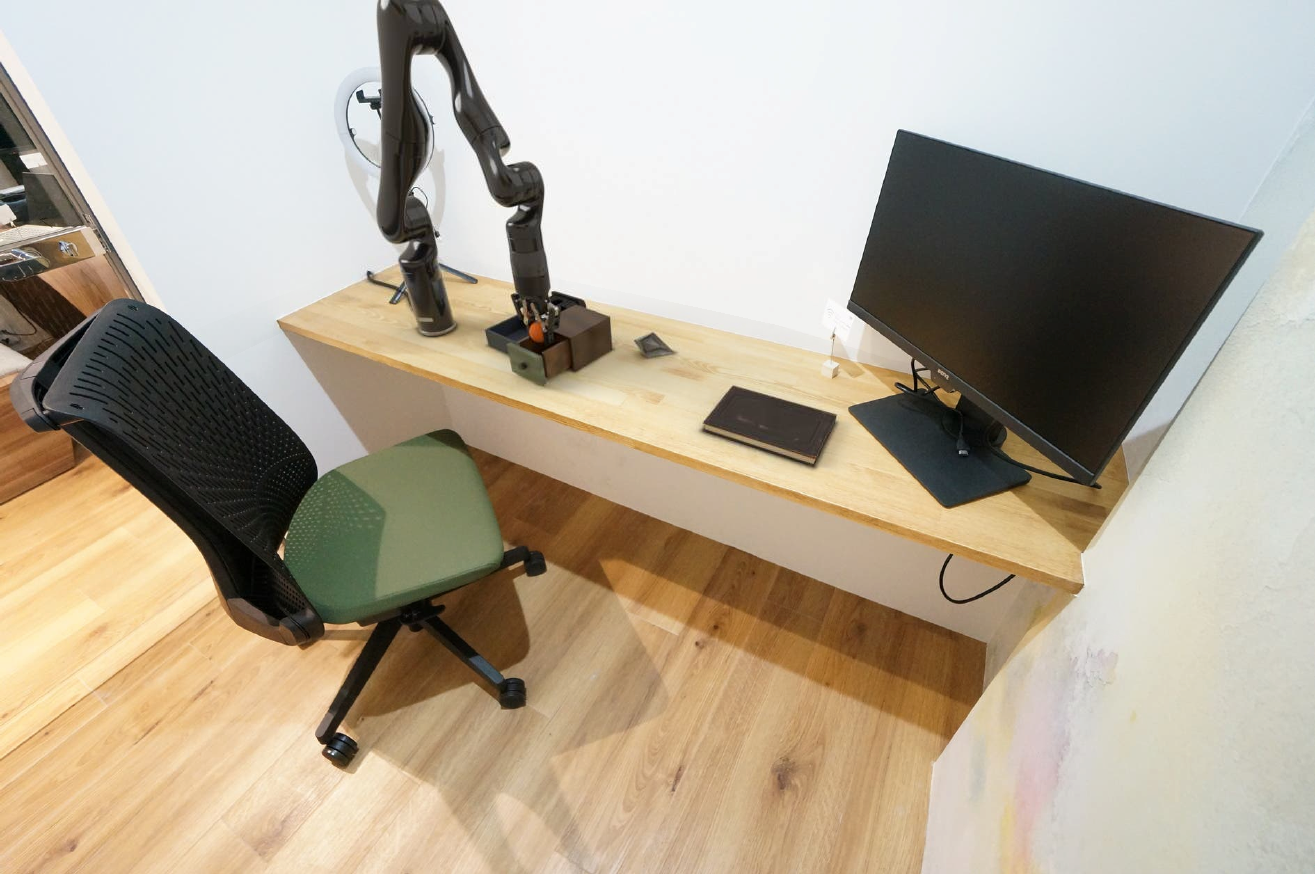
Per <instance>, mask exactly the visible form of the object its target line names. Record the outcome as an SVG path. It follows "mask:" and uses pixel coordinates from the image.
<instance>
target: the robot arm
mask: <svg viewBox="0 0 1315 874" xmlns="http://www.w3.org/2000/svg"><path fill="white" fill-rule="evenodd" d="M376 31H377V42H378V43H377V44H378V55H379V64H380V65H379V66H380V67H379V68H380V86H381V87H380V89H381V91H380V92H381V93H380V94H381V107H380V108H381V111H380V172H379V173H380V174H379V184H378V192H377V199H376V207H375V217H376V224H377V227H378V230H379V232H380V234H381V236H382V237H383V238H384V240H385V241H387V242H388V243H390V244H393V245H402V244H406V243H408V244H407V246H406V248H405V249H404V250H403V251H402V252H401V254H399V256H398V258H397V264H398V267H399V269H400V273H401V276H402V279H403V282H404V285H405V288H406V290H404V292H403V293H402V294H404V296H406V298H407V302H408V304H409V306H410V307H411V308H412V311H413V315H414V319H415V321H416V325H417V327H418V330H419V333H420V334H421V335H423V336H426V337H438V336H443V335H446V334H449V333H451V332H453V331H454V330H455V329H456V327H457V323H456V321H455V317H454V314H453V309H452V307H451V303H450V300H449V295H448V292H447V289H446V288H447V287H446V285H445V281H444V278H443V274H442V271H441V267H440V263H439V249H438V245H437V240H436V235H435V229H434V226H433V222H432V218H431V215H430V213H429V210H428V208H427V206H426V205H425V203H424V202H423V201H422V200H421V199H420V198H418V197H416V196H414V195H409V194H410V192H411V190H412V188H413V187H414V185H415V183H416V182H417V180H418V179H419V177H420V175H421V173H422V172H423V170H424V168H425V167H426V164H427V161H428V160H429V154H430V145H431V144H430V143H431V124H430V120H429V118H428V115H427V112H426V111H425V109H424V107H423V105H422V103H421V101H420V100H419V98H418V96H417V94H416V91H415V89H414V86H413V81H412V63H413V59H414V56H431V55H433V56H434V57H435V58H436V60H437V61H438V62H439V63H440V65H441V66H442V68H443V70H444V71H445V73H446V75H447V78H448V81H449V85H450V95H451V96H450V97H451V98H450V99H451V107H452V112H453V116H454V119H455V122H456V124H457V126H458V128H459V129H460V132H461V133H462V134H463V136H464V138H465V140H466V141H467V142H468V145H469V146H470V147H471V149H472V151H473V152H474V154H475V155H476V158H477V160H478V164H479V166H480V170H481V173H482V175H483V178H484V182H485V185H486V188H487V191H488V193H489V194H490V197H491V198H492V199H493V200H494V201H495V202H496V203H497V204H498V205H500V206H501V207H503V208H505V209H506V208H507V209H510V208H514V207H517V208H516V212H515V213H514V214H512V215H511V216H510V217H509V218H507V220H506V221H505V233H506V239H507V246H508V250H509V264H510V268H511V273H512V279H513V284H514V291H515V292H514V293H511V294H510V298H511V301H512V304H513V306H514V310H515V312H516V315H518V318H519V319H520V320H524V323H525V324H526V326H527V331H528V335H529V338H530V339H532V338H531V336H530V333H529V330H530V327H531V325H532V324H533V323H535V322H534V321H535V320H537V321H538V322H539V323H540V324H541V327H542V330H543V331H542V332H543V339H544V345H546V346H550V345H551V344H553V342H554V337H553V330H555V329H557V328H559V325H560V314H561V307H560V306H559V305H557V306H554V305H553V304H552V303H551V300H550V298H549V297H550V296H549V293H550V290H551V288H552V285H551V279H550V271H549V263H548V257H547V253H546V250H545V243H544V237H543V231H542V221H543V213H544V204H545V196H546V195H545V194H546V193H545V192H546V191H545V182H544V178H543V175H542V172H541V170H540V169H539V168H538V166H537V165H535V164H534V163H533V162H531V161H529V160H522V161H519V162H514V163H509V164H505V163H504V161H503V158H504V157H505V156H506V155H507V154H508V153H509V152H510V150H511V147H512V142H511V139H510V137H509V135H508V133H507V131H506V130H505V128H504V126H503V124H502V123H501V122H500V119H499V118H498V116H497V115H496V113H495V112H494V110H493V108H492V107H491V105H490V104H489V101H488V100H487V98H486V97H485V94H484V93H483V90H482V88H481V87H480V85H479V82H478V80H477V78H476V75H475V74H474V71H473V68H472V66H471V64H470V61H469V59H468V57H467V55H466V52H465V50H464V48H463V46H462V44H461V41H460V39H459V35H458V34H457V32H456V30H455V27H454V25H453V23H452V21H451V18H450V16H449V14H448V13H447V11H446V9H445V8H444V6H443V5H442V3H441V1H440V0H377V3H376ZM370 271H371V270H370ZM370 271H368V270H366V278H367V280H368V281H370V282H371V283H374V284H377V285H381V286H384V287H387V288H390V289H391V288H392V289H393V290H396V291H399V288H400V287H399V286H396V285H394V284H390V283H387V282H385V281H381V280H376V279H374V278H372V277H371V274H372V271H371V272H370ZM521 309H522V310H521ZM545 314H546V315H545ZM546 320H547V322H548V325H546V324H545V321H546ZM532 340H533V339H532Z"/></svg>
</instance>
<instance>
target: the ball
mask: <svg viewBox="0 0 1315 874" xmlns="http://www.w3.org/2000/svg"><path fill="white" fill-rule="evenodd" d="M545 324H546V323H545ZM546 325H548V324H546ZM542 331H543V330H542V327H541V324H540V323H539V322H538V321H537V322H535V323H533V324H532V325H531V327H530V330H529V333H530V336H531V338H532V339H533V340H534V341H536V342H539V343H543V342H544V339H543V332H542Z"/></svg>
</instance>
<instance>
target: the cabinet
mask: <svg viewBox="0 0 1315 874" xmlns="http://www.w3.org/2000/svg"><path fill="white" fill-rule="evenodd" d="M545 323H546V324H548V322H547V320H546V321H545ZM611 323H612V322H611V316H610V315H607V314H604V313H601V312H598V311H595V310H592V309H590V308H587V307H586V308H584V307H582V306H579V305H574V306H572V307H570V308H568V309H566V310H564V311H562V312H561V314H560V325H559V328H557V329H555V330H553V334H555V335H557V336H560V337H562V338H565V339H567V340H569V346H570V354H571V362H572V366H570V367H568V368H566V370H569V371H572V372H573V373H576V372H577V371H579V370H581V369H582V368H584V367H586V366H587V365H589V364H591V363H593V362H594V361H596V360H598V359H599V358H601V357H602V356H604V355H606V354H607V353H609V352H611V351H612V350H613V338H612V324H611Z"/></svg>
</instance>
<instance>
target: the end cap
mask: <svg viewBox="0 0 1315 874" xmlns="http://www.w3.org/2000/svg"><path fill="white" fill-rule="evenodd" d="M549 298H550V300H551V303H552V304H553V305H554V306H557V305H559V306H560V307H561V312H562V311H564V310H566V309H568V308H570V307H572V306H574V305H579V306H582V307H584V308H587V303H586V301H585V300H584V299H582V298H579V297H576V296H573V295H570V294H567V293H563V292H560V291H557V290H553V291H551V295H550V296H549ZM545 315H546V314H544V316H545Z"/></svg>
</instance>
